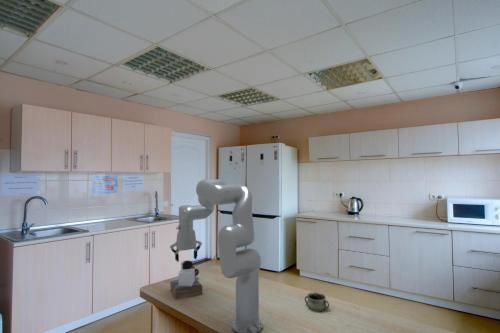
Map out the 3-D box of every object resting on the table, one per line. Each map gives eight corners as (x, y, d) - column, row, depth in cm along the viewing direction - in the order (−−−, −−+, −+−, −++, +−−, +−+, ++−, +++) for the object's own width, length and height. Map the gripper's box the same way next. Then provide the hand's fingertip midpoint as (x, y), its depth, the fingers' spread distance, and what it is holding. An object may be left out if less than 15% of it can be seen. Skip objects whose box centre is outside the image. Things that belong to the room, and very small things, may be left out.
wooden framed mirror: (202, 294, 151) (202, 284, 151) (175, 299, 145) (175, 289, 145) (195, 285, 163) (195, 276, 163) (170, 289, 157) (170, 280, 157)
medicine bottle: (194, 281, 156) (194, 259, 156) (191, 286, 149) (191, 263, 149) (182, 281, 156) (182, 259, 156) (178, 286, 149) (178, 263, 149)
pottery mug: (177, 280, 170) (178, 266, 175) (185, 282, 178) (186, 269, 182) (195, 278, 168) (196, 263, 172) (203, 280, 175) (203, 266, 180)
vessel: (301, 310, 132) (300, 296, 133) (308, 302, 140) (307, 289, 140) (326, 316, 126) (326, 302, 126) (332, 308, 133) (332, 295, 134)
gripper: (171, 230, 148) (171, 264, 147) (203, 227, 155) (203, 259, 155) (168, 228, 154) (168, 260, 154) (199, 225, 162) (199, 256, 161)
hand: (186, 259), depth 154 cm, fingers open, 9 cm apart
